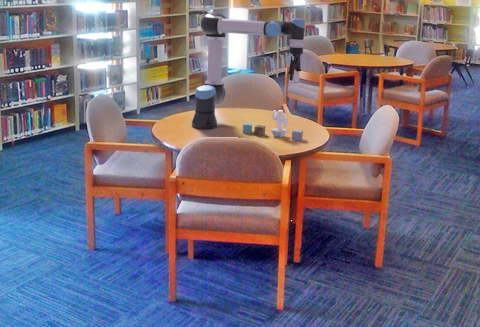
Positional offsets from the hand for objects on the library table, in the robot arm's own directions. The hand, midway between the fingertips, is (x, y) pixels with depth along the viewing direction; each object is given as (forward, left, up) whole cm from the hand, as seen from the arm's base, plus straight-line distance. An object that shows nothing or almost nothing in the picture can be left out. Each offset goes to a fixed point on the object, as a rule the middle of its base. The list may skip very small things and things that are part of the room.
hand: (293, 84), depth 338 cm
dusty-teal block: (-22, -14, -28) cm, 38 cm away
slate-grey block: (+8, -16, -28) cm, 33 cm away
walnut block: (-14, -16, -28) cm, 35 cm away
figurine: (-3, -14, -28) cm, 32 cm away
